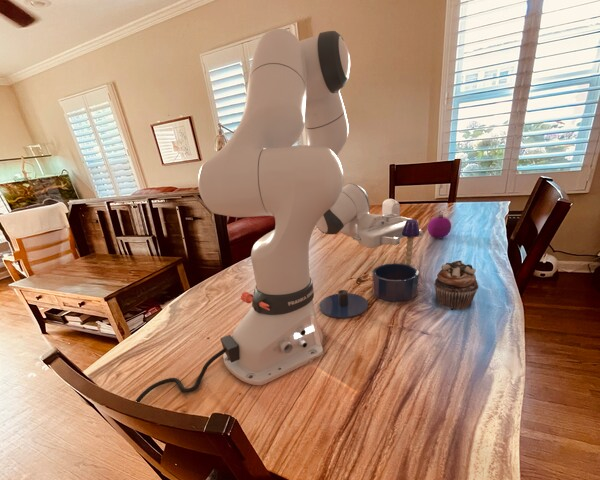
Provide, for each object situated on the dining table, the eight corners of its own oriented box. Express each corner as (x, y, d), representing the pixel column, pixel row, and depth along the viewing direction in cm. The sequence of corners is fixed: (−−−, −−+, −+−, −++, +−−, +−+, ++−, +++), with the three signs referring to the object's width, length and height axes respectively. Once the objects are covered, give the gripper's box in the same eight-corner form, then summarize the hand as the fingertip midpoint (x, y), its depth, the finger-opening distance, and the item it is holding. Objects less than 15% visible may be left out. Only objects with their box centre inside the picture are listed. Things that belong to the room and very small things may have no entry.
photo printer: (380, 226, 142) (381, 198, 136) (389, 224, 142) (390, 196, 136) (391, 231, 133) (392, 202, 127) (400, 230, 133) (402, 200, 127)
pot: (401, 308, 77) (403, 285, 74) (364, 296, 85) (364, 274, 82) (424, 291, 84) (427, 269, 81) (388, 281, 91) (388, 260, 88)
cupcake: (423, 299, 80) (427, 263, 75) (452, 289, 83) (457, 254, 78) (454, 315, 72) (460, 276, 67) (484, 304, 75) (492, 265, 70)
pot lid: (346, 326, 73) (345, 309, 71) (309, 310, 81) (308, 294, 79) (377, 305, 80) (378, 289, 78) (340, 292, 88) (340, 277, 86)
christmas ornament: (444, 233, 124) (447, 208, 119) (453, 239, 116) (457, 212, 112) (423, 235, 124) (425, 210, 119) (431, 242, 117) (434, 215, 112)
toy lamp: (418, 274, 93) (423, 218, 85) (411, 280, 90) (415, 223, 82) (403, 271, 96) (406, 217, 88) (396, 277, 93) (399, 221, 86)
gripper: (348, 226, 93) (383, 235, 82) (397, 212, 101) (434, 218, 91) (349, 247, 96) (382, 258, 85) (397, 231, 104) (432, 239, 94)
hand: (409, 237), depth 88 cm, fingers open, 8 cm apart
